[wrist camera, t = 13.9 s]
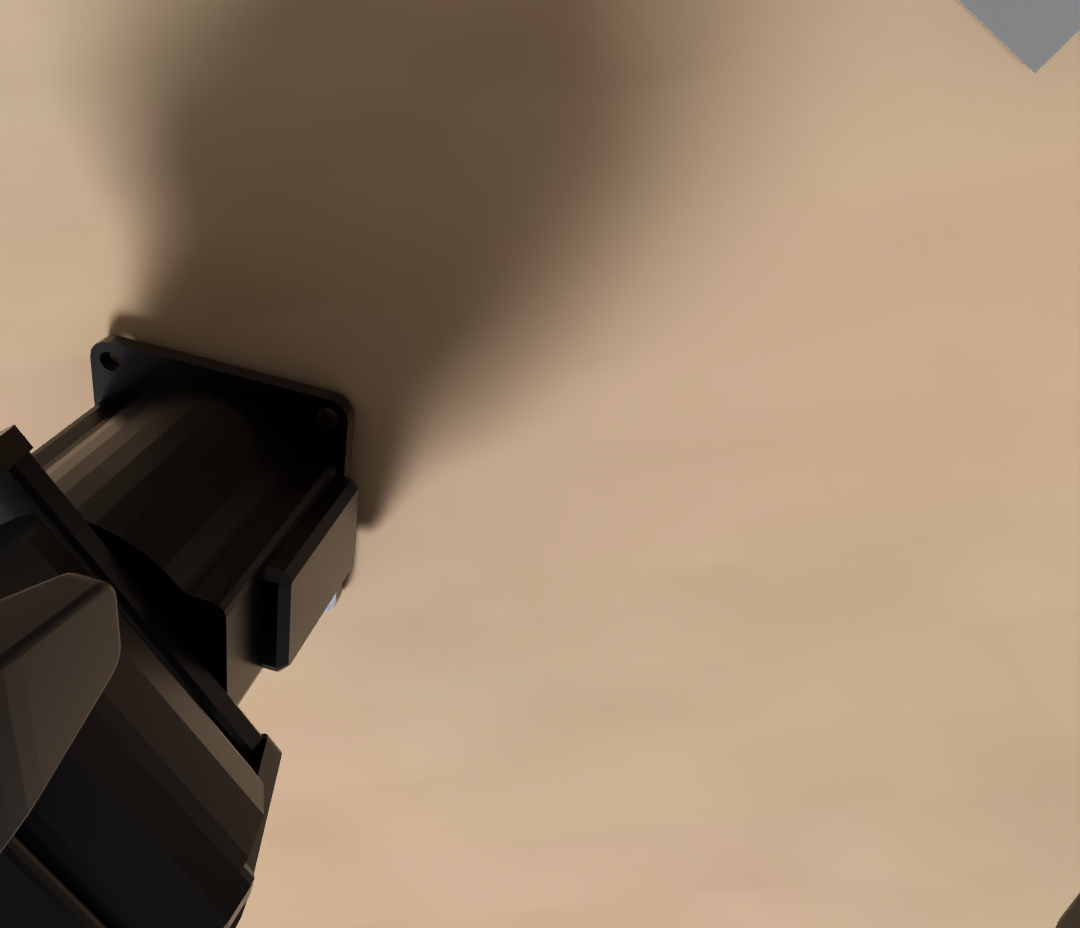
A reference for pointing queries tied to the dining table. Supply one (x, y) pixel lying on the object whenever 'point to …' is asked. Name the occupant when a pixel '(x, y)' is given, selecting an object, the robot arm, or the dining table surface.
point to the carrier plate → (1028, 25)
